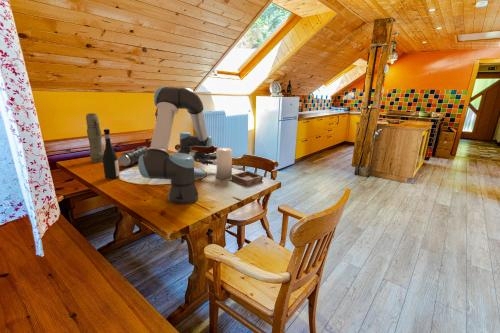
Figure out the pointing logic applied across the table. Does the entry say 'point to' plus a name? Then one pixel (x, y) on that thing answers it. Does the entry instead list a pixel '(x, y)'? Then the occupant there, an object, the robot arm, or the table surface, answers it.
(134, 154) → the muzzle brake
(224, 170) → the ceramic canister
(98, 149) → the grey stone pillar
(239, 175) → the coaster tray
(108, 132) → the wine bottle
